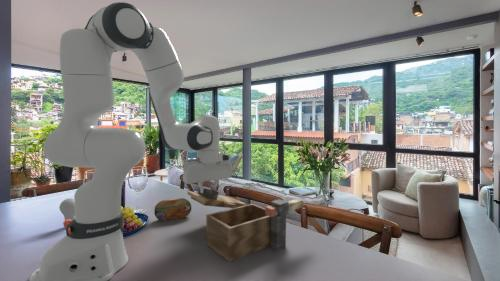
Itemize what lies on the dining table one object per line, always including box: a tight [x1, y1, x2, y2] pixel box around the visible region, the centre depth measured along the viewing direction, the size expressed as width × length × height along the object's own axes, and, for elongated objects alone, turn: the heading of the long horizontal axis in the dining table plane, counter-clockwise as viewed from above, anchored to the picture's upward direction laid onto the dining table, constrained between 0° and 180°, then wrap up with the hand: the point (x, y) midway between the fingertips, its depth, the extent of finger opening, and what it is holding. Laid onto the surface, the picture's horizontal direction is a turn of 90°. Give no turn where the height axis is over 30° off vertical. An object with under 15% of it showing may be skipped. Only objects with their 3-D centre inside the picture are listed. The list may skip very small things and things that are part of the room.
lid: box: [187, 185, 248, 209], centre depth 100 cm, size 20×18×5 cm
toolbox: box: [205, 199, 290, 263], centre depth 83 cm, size 20×18×15 cm
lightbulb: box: [58, 197, 75, 221], centre depth 98 cm, size 6×6×11 cm
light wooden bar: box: [264, 198, 304, 217], centre depth 85 cm, size 15×3×2 cm, turn 129°
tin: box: [153, 197, 192, 222], centre depth 107 cm, size 15×3×8 cm, turn 114°
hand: (208, 191), depth 99 cm, fingers closed on lid, 3 cm apart
